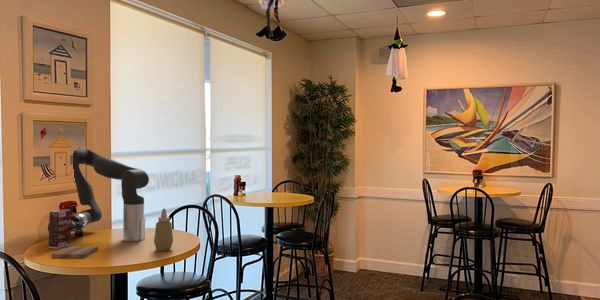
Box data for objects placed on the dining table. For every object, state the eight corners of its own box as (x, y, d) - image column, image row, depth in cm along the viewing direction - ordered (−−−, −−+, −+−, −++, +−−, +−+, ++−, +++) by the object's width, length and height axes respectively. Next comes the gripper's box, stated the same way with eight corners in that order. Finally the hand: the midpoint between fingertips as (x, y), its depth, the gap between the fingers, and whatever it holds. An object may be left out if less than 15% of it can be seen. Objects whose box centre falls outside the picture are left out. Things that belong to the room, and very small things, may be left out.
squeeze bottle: (176, 248, 201) (177, 208, 201) (165, 253, 193) (166, 210, 193) (161, 246, 204) (161, 206, 203) (149, 251, 196) (150, 209, 196)
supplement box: (58, 249, 196) (58, 212, 196) (48, 248, 197) (48, 211, 196) (71, 244, 204) (72, 209, 204) (62, 244, 205) (62, 208, 205)
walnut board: (97, 250, 196) (98, 246, 196) (84, 258, 183) (84, 254, 183) (67, 249, 195) (67, 246, 195) (51, 257, 182) (51, 254, 182)
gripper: (60, 213, 215) (42, 220, 199) (91, 214, 216) (75, 220, 199) (60, 229, 215) (42, 237, 199) (91, 230, 216) (75, 237, 200)
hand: (59, 228), depth 199 cm, fingers open, 8 cm apart
